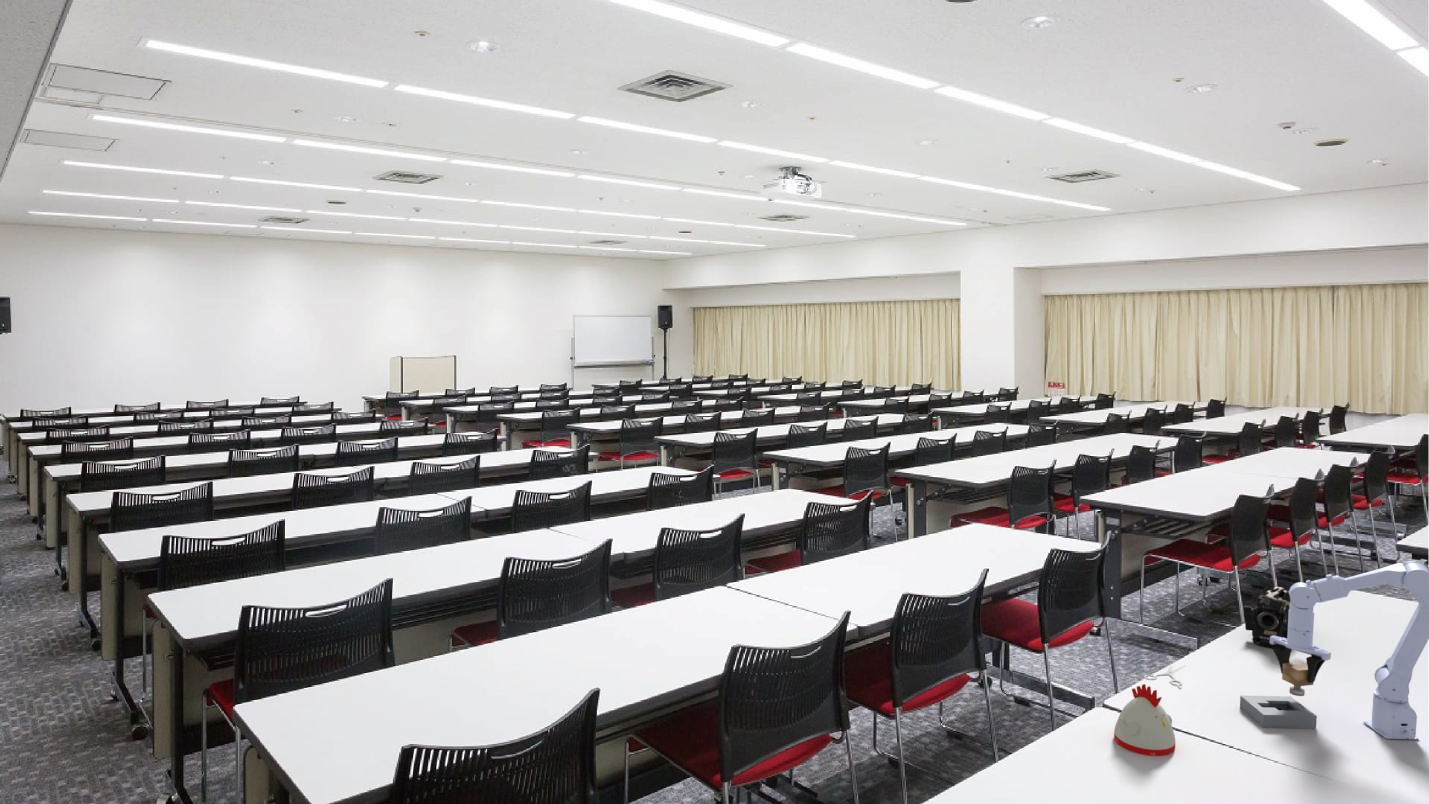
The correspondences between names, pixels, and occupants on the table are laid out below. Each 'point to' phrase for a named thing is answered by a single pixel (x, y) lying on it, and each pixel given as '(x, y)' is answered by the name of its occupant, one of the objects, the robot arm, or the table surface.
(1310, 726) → the square hole plate
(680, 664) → the table surface
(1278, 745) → the table surface
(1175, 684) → the scissors
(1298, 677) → the peg
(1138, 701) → the kitchen timer
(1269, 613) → the movie camera
